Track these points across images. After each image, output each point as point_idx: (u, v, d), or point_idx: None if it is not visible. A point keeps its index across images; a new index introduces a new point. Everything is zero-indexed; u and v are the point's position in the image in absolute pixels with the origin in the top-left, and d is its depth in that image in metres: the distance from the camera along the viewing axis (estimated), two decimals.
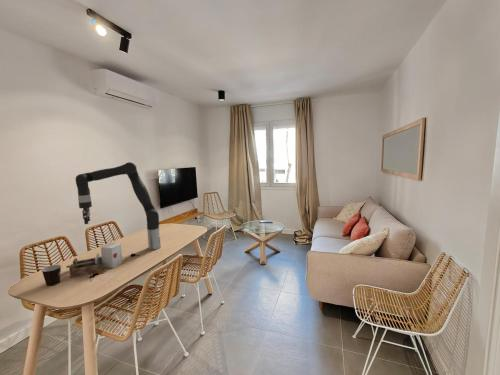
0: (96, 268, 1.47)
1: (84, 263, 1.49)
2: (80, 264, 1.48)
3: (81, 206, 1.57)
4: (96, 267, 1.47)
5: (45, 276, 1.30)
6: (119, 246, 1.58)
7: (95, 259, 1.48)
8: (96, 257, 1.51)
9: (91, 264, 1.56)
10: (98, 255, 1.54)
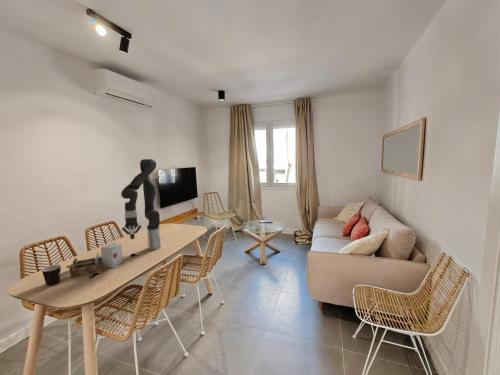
0: (96, 268, 1.47)
1: (84, 263, 1.49)
2: (80, 264, 1.48)
3: (136, 220, 1.60)
4: (96, 267, 1.47)
5: (45, 276, 1.30)
6: (119, 246, 1.58)
7: (95, 259, 1.48)
8: (96, 257, 1.51)
9: (91, 264, 1.56)
10: (98, 255, 1.54)
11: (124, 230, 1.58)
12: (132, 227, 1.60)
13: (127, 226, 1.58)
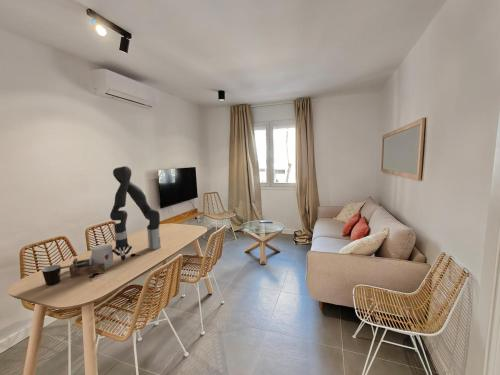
0: (96, 268, 1.47)
1: (78, 264, 1.47)
2: (74, 265, 1.46)
3: (126, 241, 1.59)
4: (96, 267, 1.47)
5: (45, 276, 1.30)
6: (110, 247, 1.56)
7: (89, 260, 1.46)
8: (90, 258, 1.49)
9: None
10: None
11: (114, 252, 1.56)
12: None
13: (117, 248, 1.57)
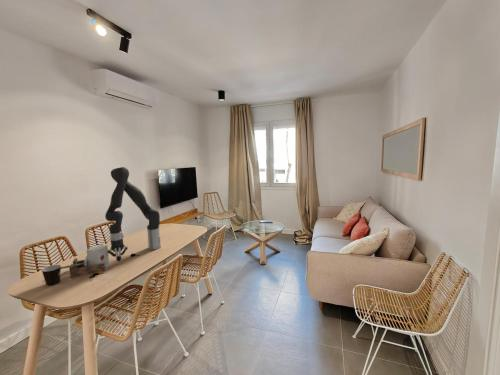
0: (96, 268, 1.47)
1: None
2: (69, 266, 1.45)
3: (122, 242, 1.58)
4: (96, 267, 1.47)
5: (45, 276, 1.30)
6: (106, 248, 1.55)
7: (84, 261, 1.45)
8: (85, 259, 1.48)
9: None
10: None
11: (110, 253, 1.55)
12: (118, 249, 1.57)
13: (113, 248, 1.56)
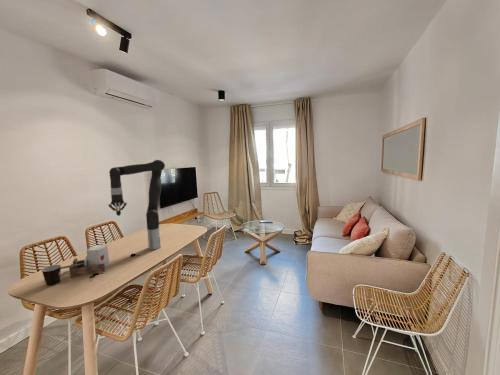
0: (96, 268, 1.47)
1: None
2: (69, 266, 1.45)
3: (122, 197, 1.69)
4: (96, 267, 1.47)
5: (45, 276, 1.30)
6: (106, 248, 1.55)
7: (84, 261, 1.45)
8: (85, 259, 1.48)
9: None
10: None
11: (110, 206, 1.66)
12: (118, 204, 1.69)
13: (113, 203, 1.67)
